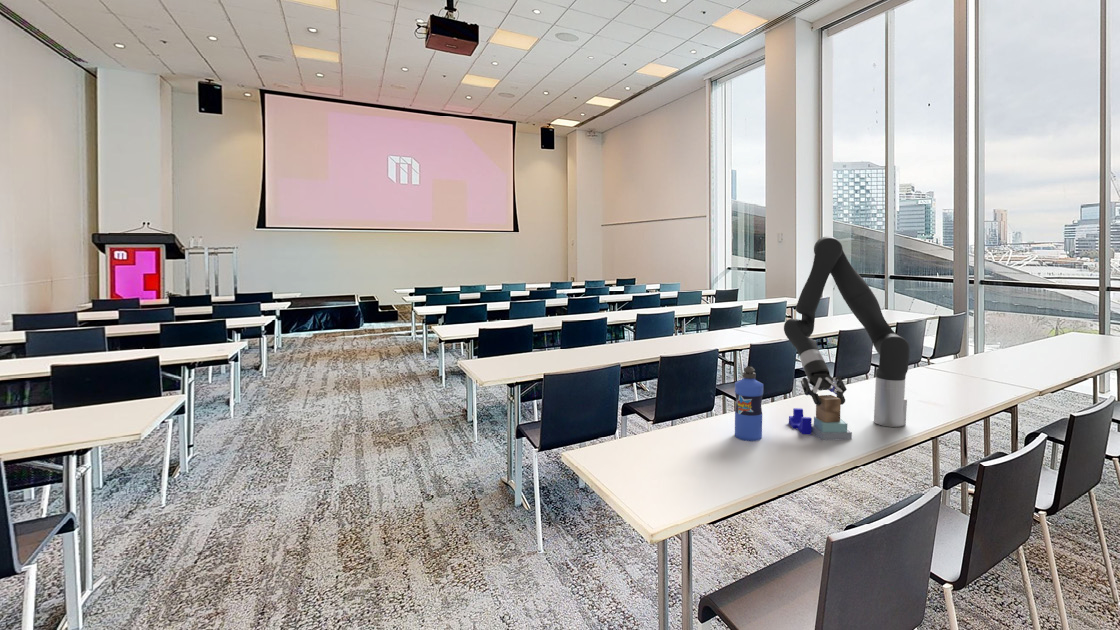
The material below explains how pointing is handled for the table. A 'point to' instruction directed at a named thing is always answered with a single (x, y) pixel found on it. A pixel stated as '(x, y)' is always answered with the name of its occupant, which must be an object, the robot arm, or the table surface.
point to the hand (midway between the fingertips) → (831, 404)
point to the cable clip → (800, 421)
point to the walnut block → (828, 409)
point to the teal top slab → (830, 426)
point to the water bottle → (748, 407)
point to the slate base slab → (830, 434)
